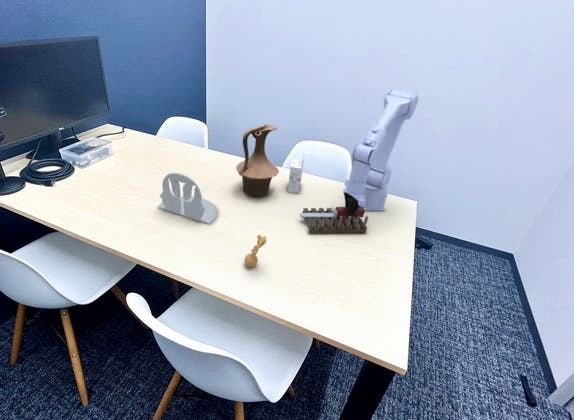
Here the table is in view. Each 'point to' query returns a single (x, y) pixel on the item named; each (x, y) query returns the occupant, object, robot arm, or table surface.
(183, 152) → the table surface
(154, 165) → the table surface
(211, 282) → the table surface
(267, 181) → the pitcher
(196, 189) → the ornament
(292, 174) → the ink cartridge box
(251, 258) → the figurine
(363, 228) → the drying rack
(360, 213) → the knife
